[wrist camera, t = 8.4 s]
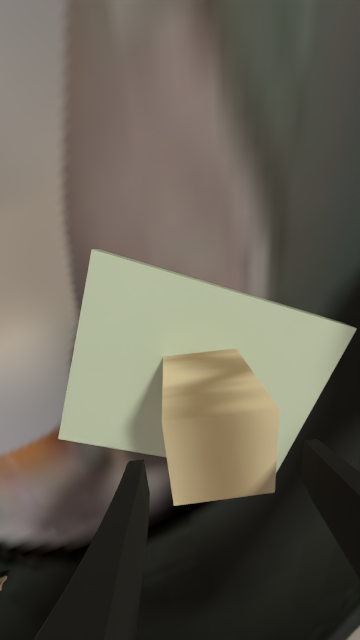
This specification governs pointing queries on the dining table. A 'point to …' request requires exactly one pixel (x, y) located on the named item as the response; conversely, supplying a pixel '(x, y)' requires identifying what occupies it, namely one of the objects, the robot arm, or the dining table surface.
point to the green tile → (184, 351)
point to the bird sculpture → (2, 580)
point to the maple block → (217, 428)
